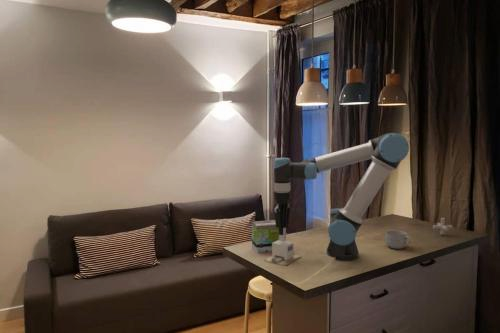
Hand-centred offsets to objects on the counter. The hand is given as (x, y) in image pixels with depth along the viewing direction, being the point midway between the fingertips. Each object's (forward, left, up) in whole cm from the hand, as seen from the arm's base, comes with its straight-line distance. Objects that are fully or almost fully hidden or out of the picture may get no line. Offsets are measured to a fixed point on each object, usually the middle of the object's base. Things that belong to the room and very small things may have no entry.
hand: (282, 241), depth 182 cm
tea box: (+14, -9, -10) cm, 20 cm away
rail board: (0, 0, -10) cm, 10 cm away
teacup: (-39, -49, -10) cm, 63 cm away
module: (0, 0, -8) cm, 8 cm away
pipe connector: (-53, -85, -10) cm, 100 cm away
